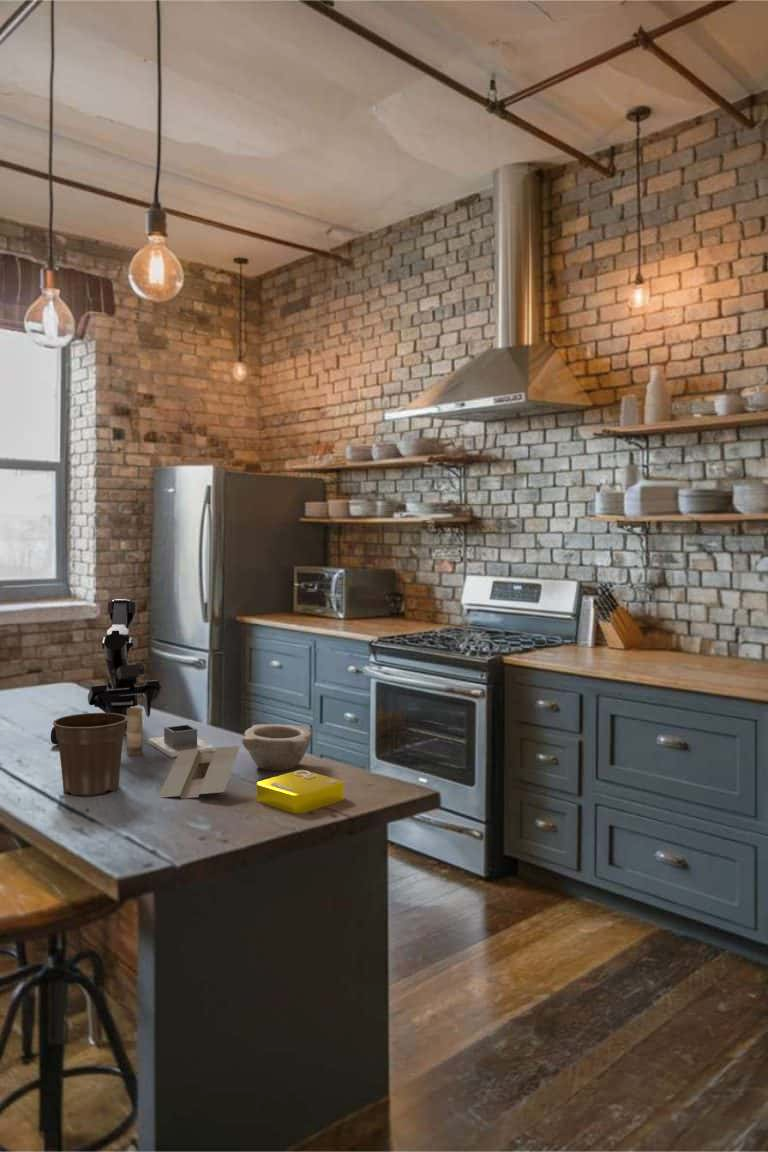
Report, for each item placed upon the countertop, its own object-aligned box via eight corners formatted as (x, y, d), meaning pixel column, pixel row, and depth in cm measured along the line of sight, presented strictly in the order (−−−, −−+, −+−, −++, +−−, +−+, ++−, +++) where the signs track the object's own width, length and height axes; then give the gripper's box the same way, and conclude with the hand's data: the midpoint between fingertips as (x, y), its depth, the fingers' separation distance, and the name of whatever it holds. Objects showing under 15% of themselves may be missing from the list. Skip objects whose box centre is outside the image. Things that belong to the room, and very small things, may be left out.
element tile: (252, 801, 192) (252, 780, 192) (301, 786, 204) (301, 766, 203) (298, 816, 182) (299, 794, 182) (347, 800, 194) (348, 779, 193)
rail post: (129, 751, 232) (129, 707, 231) (144, 751, 231) (144, 707, 231) (124, 755, 228) (124, 710, 227) (139, 755, 227) (139, 710, 227)
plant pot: (53, 782, 203) (53, 714, 202) (125, 775, 209) (125, 709, 208) (53, 802, 188) (52, 729, 187) (130, 795, 194) (130, 724, 193)
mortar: (305, 777, 210) (305, 739, 210) (236, 774, 211) (237, 737, 211) (315, 759, 227) (316, 724, 226) (252, 756, 228) (252, 722, 228)
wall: (239, 812, 195) (250, 756, 206) (225, 792, 189) (237, 735, 200) (172, 818, 199) (186, 763, 209) (156, 798, 193) (172, 742, 204)
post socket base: (148, 743, 241) (148, 724, 241) (189, 737, 248) (189, 719, 247) (171, 757, 226) (171, 737, 226) (214, 751, 233) (214, 732, 233)
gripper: (90, 655, 229) (102, 703, 220) (159, 650, 239) (173, 696, 231) (82, 680, 236) (94, 728, 227) (149, 675, 246) (163, 720, 238)
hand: (131, 717), depth 230 cm, fingers open, 9 cm apart
